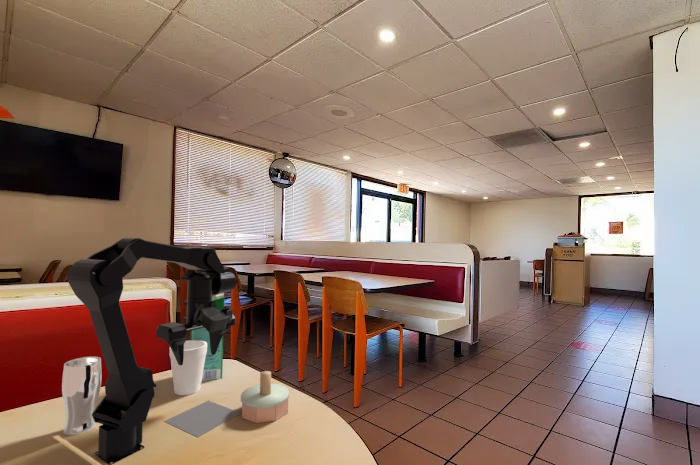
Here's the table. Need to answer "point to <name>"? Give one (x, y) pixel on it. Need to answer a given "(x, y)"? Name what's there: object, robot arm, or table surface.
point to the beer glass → (81, 393)
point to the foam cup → (189, 367)
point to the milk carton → (211, 361)
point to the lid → (264, 393)
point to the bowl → (264, 412)
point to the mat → (202, 418)
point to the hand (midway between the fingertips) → (197, 359)
